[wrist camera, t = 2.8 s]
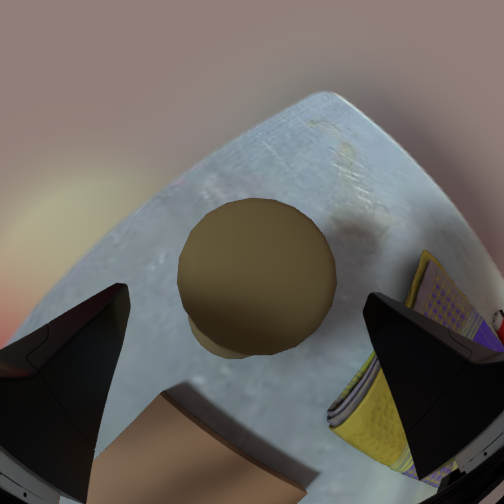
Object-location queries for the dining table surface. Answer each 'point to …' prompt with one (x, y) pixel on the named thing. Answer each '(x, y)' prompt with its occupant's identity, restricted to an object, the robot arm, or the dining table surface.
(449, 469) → the dish towel
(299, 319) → the olive brown peg figure
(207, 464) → the walnut board
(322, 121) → the dining table surface
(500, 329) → the lighter
